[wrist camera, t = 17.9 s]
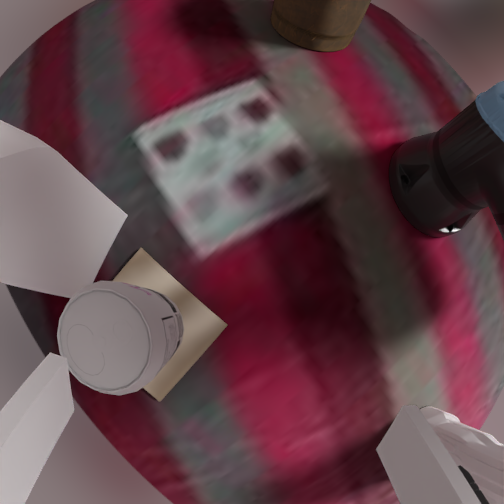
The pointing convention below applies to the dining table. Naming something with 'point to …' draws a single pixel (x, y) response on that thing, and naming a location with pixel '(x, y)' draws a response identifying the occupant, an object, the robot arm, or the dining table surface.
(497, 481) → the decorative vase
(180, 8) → the dining table surface
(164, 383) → the beige cloth
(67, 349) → the supplement can
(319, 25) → the wooden container
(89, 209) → the milk
